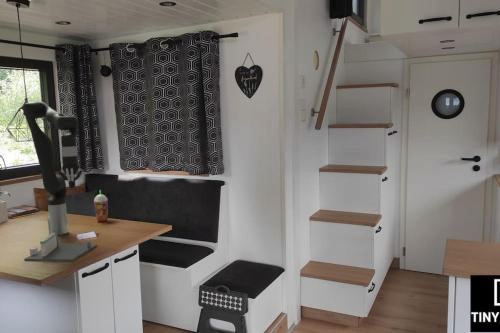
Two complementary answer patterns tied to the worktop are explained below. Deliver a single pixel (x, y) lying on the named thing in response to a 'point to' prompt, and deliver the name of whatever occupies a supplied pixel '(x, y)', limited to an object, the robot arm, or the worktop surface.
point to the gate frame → (61, 252)
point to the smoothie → (101, 207)
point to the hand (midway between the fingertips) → (72, 188)
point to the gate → (48, 244)
